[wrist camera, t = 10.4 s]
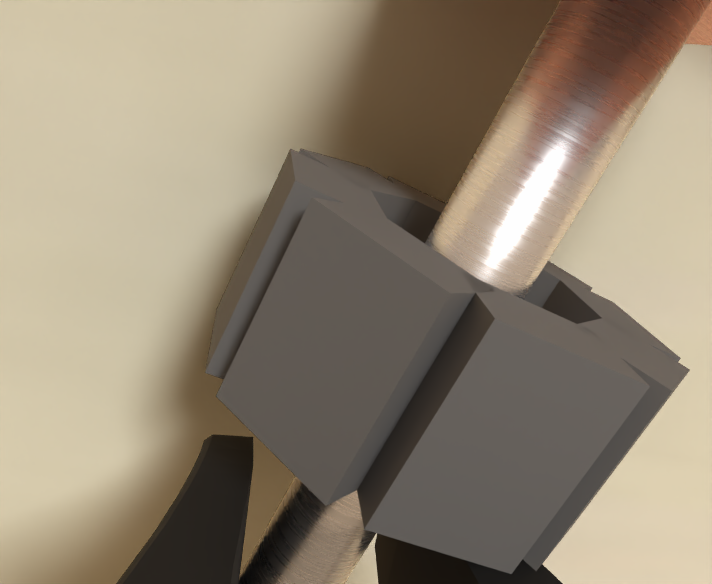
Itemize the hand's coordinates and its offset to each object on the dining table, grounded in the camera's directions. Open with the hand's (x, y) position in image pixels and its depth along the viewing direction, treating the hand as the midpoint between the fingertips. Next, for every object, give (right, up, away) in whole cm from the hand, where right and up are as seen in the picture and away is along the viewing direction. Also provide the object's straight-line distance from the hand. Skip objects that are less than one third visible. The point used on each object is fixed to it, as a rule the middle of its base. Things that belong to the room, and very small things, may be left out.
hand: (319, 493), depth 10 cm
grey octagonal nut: (+1, +4, +1) cm, 4 cm away
